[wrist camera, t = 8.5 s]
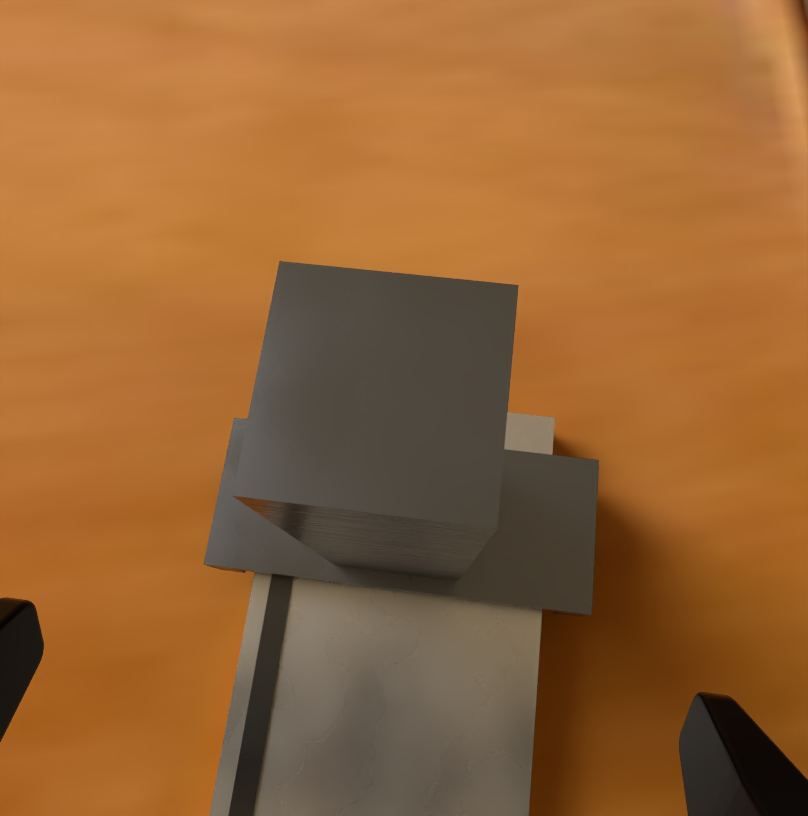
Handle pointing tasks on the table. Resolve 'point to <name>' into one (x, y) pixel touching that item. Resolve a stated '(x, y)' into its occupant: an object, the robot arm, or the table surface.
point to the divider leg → (399, 449)
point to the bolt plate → (383, 697)
